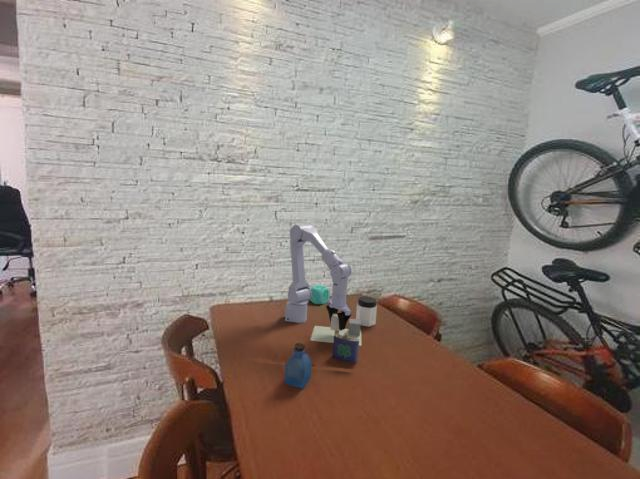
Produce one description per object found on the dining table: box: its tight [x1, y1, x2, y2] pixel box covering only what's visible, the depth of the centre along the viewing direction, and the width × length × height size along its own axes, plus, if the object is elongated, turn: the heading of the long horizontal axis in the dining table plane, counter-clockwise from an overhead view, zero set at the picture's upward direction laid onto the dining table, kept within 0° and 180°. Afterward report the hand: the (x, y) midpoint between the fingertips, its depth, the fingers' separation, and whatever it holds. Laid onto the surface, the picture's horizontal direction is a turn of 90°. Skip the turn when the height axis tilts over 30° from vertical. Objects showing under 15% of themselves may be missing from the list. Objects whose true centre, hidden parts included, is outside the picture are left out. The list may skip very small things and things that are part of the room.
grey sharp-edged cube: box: [348, 318, 362, 336], centre depth 138 cm, size 5×5×5 cm
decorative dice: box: [309, 284, 331, 305], centre depth 175 cm, size 8×8×8 cm
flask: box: [332, 333, 359, 363], centre depth 116 cm, size 9×3×11 cm, turn 68°
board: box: [309, 325, 362, 347], centre depth 135 cm, size 20×14×4 cm
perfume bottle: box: [284, 342, 312, 390], centre depth 103 cm, size 6×6×12 cm
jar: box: [355, 295, 378, 328], centre depth 149 cm, size 9×8×12 cm
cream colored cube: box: [330, 314, 342, 331], centre depth 133 cm, size 5×5×5 cm
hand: (337, 325), depth 134 cm, fingers closed on cream colored cube, 6 cm apart
